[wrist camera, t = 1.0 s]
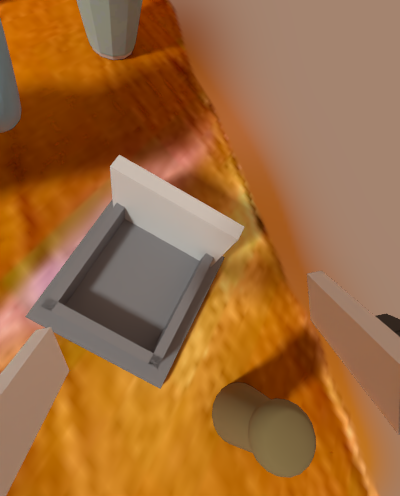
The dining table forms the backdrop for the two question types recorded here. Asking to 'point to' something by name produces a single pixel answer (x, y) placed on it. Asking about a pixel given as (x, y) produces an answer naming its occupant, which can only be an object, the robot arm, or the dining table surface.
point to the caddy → (138, 274)
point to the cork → (265, 428)
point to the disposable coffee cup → (111, 25)
